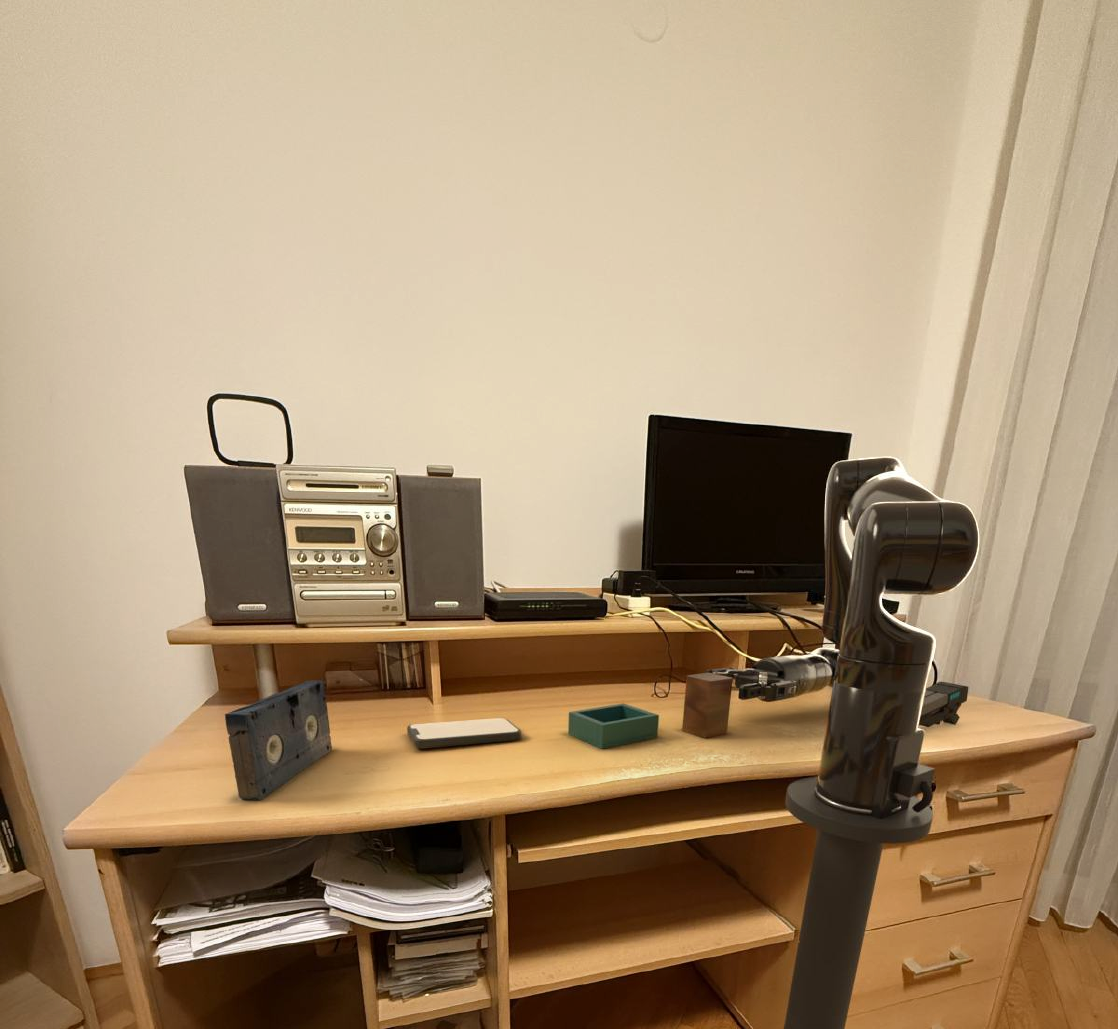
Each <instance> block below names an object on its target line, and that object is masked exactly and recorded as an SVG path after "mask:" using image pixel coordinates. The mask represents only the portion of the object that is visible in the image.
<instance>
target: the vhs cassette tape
mask: <svg viewBox="0 0 1118 1029" xmlns="http://www.w3.org/2000/svg"><path fill="white" fill-rule="evenodd" d="M328 712H329V711H328V704H327V691H326V686H325V683H324V680H313V679H312V680H306V681H304V682H302V683H298V684H296V685H294V686H291V687H288V688H287V689H284V690H282V691H279V692H276V693H273V694H271V695H269V696H267V697H265V698H262V699H259V700H257V701H255V702H252V703H251V704H250V705H246V706H243V707H240V708H239V707H238V708H237V709H235V710H232V711H229V712H227V713H224V716H225V717H224V720H225V726H226V732H227V734H228V735H229V736H228V743H229V750H230V754H231V760H232V764H233V765H232V766H233V770H234V777H235V778H234V779H235V782H236V788H237V794H238V797H239V798H240V799H242V800H255V801H256V800H258V801H261V800H264V798H266V797H267V796H268V795H270V794H271V793H273V792H274V791H275V790H277V789H278V788H280V787H281V786H283V785H285V784H286V783H288V781H290V780H292V779H293V778H294V777H296V776H297V775H298V774H300V773H301V772H302V771H304V770H306V769H307V768H309V767H310V766H311V765H312V764H314V763H316V762H317V761H318V760H320V759H321V758H322V757H324V756H326V755H327V754H328V753H329V752H331V751H332V750H333V744H332V737H331V735H330V734H331V728H330V721H329V720H330V718H329V713H328Z"/></svg>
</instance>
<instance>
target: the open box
mask: <svg viewBox="0 0 1118 1029" xmlns="http://www.w3.org/2000/svg"><path fill="white" fill-rule="evenodd" d="M659 722H660V715H659V714H657V713H654V712H651V711H648V710H645V709H642V708H639V707H637V706H632V705H629V704H626V703H616V704H612V705H604V706H599V707H593V708H585V709H580V710H574V711H569V712H568V724H567V725H568V731H567V734H568V735H569V736H571V737H574V738H576V739H578V740H580V741H582V742H585V743H587V744H590V745H592V746H594V747H597V748H598V749H601V750H604V749H608V748H613V747H617V746H622V745H627V744H632V743H636V742H637V743H638V742H642V741H646V740H651V739H656V738H658V736H659Z"/></svg>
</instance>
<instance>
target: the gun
mask: <svg viewBox="0 0 1118 1029" xmlns="http://www.w3.org/2000/svg"><path fill="white" fill-rule="evenodd" d="M969 687H970V686H967V685H962V684H957V683H951V682H946V681H937V682H936V683H935V684H933V685H930V686H927V687H926V691H925V696H924V701H923V706H922V710H921V715H920V720H919V724H918V727H919V726H922V727H926V728H931V727H932V726H934V725H937V726H939V725H940V724H941V723H942V722H943V723H946V724H950V725H954V726H956V725H957V723H958V722H959V720H960V719H961V717H960V715H959V714H958V710H959V709H960V708H961V707H962V704H964V703H966V702H967V701H968V697H969V696H968V695H969Z"/></svg>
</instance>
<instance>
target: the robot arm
mask: <svg viewBox="0 0 1118 1029" xmlns="http://www.w3.org/2000/svg"><path fill="white" fill-rule="evenodd" d="M824 499H825V500H824V567H825V568H824V569H825V570H824V571H825V572H824V573H825V589H824V603H823V612H822V621H821V635H822V637H823V638H824V639H826V640H827V641H829V642H831V643H833V644H834V645H835V646H836V647H837V648H838V649H837V648H833V647H818V648H816V649H814V650H812V651H810V652H808V653H807V654H800V655H796V654H787V655H780V656H779V655H778V656H770V657H764V658H761V659H759V660H758V661H756V662H755V663H754V664H753V666H752V667H751V668H747V667H746V668H743V669H735V668H734V667H732V666H730V667H722V668H713V669H707V670H706V673H713V674H717V675H721V676H726V677H730V678H733V681H734V686H733V685H732V691H731V692H738V695H737V696H738V697H737V698H738V699H739V700H742V701H746V700H753V699H756V698H757V699H758V700H759V701H762V702H765V703H773V702H779V701H783V700H790V699H794V698H798V697H800V696H803V695H808V694H814V693H817V692H820V691H823V690H824V689H826V688H832V691H831V695H830V702H829V707H828V713H827V720H826V727H825V732H824V738H823V745H822V750H821V756H820V761H819V769H818V774H817V776H818V778H817V780H818V781H817V785H816V787H815V796H816V797H817V798H818V799H819V800H820V801H821V802H823V803H825V804H827V805H829V806H831V807H833V808H836V809H839V810H842V811H846V812H850V813H855V814H860V815H867V816H872V817H875V818H878V819H884V818H886V817H888V816H891V815H893V814H896V813H898V812H900V811H902V810H905V809H907V808H908V807H909V803H910V798H911V797H913V796H915V797H916V796H918V795H920V794H922V798H921V799H920V800H921V801H920V802H918V803H917V804H915V805H914V806H913V807H912V809H913V810H914V811H915V812H918V813H919V812H920V811H922V810H923V809H925V808H926V807H927V806H929V805H930V804H931V803H932V801H933V798H934V794H933V791H932V786H933V785H932V784H933V781H934V776H935V772H936V768H935V767H932V766H928V765H924V764H921V763H919V761H920V757H921V752H922V749H923V743H924V738H925V734H926V732H925V730H924V729H923V728H919V726H918V724H919V720H920V715H921V710H922V706H923V701H924V696H925V691H926V688H928V682H929V679H930V678H929V677H930V673H931V668H932V662H933V660H934V657H935V656H934V655H935V651H936V647H937V646H936V644H937V642H936V638H935V636H934V635H933V634H932V633H930V632H928V631H925V630H923V629H921V628H918V627H915V626H912V625H909V624H907V623H906V622H903V621H901V620H899V619H897V618H896V617H894V616H893V615H892V614H890V613H889V612H888V611H887V610H886V609H885V608H884V606H883V602H882V601H883V600H882V598H883V595H898V596H899V595H902V596H935V595H942V594H945V593H948V592H951V591H952V590H954V589H955V588H957V587H958V586H959V585H961V584H962V583H963V582H964V581H965V579H966V578H967V577H968V576H969V574H970V573H971V571H972V570H973V567H974V565H975V563H976V560H977V557H978V553H979V548H980V531H979V525H978V522H977V520H976V517H975V515H974V513H973V511H972V510H971V509H970V507H969V506H967V505H966V504H964V503H961V502H957V501H951V500H946V499H943V498H941V497H939V496H937V495H936V494H934V493H933V492H931V491H930V490H928V489H926V488H925V487H924V486H923V485H922V484H921V483H920V482H918V481H917V480H915V478H913V477H911V476H910V475H908V474H907V472H906V470H905V468H904V466H903V463H902V462H901V461H900V460H899V458H896V457H894V456H893V457H892V456H879V457H878V456H876V457H875V456H874V457H866V458H864V457H863V458H857V459H856V458H855V459H846V460H840V461H839V460H838V461H837V462H835V463H834V464H833V465H832V467H831V468H830V471H829V473H828V477H827V480H826V488H825V498H824ZM846 522H847V524H848V527H849V529H850V531H851V533H852V535H853V538H854V539H853V545H852V553H851V551H850V549H849V547H848V544H847V540H846V534H845V523H846Z"/></svg>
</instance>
